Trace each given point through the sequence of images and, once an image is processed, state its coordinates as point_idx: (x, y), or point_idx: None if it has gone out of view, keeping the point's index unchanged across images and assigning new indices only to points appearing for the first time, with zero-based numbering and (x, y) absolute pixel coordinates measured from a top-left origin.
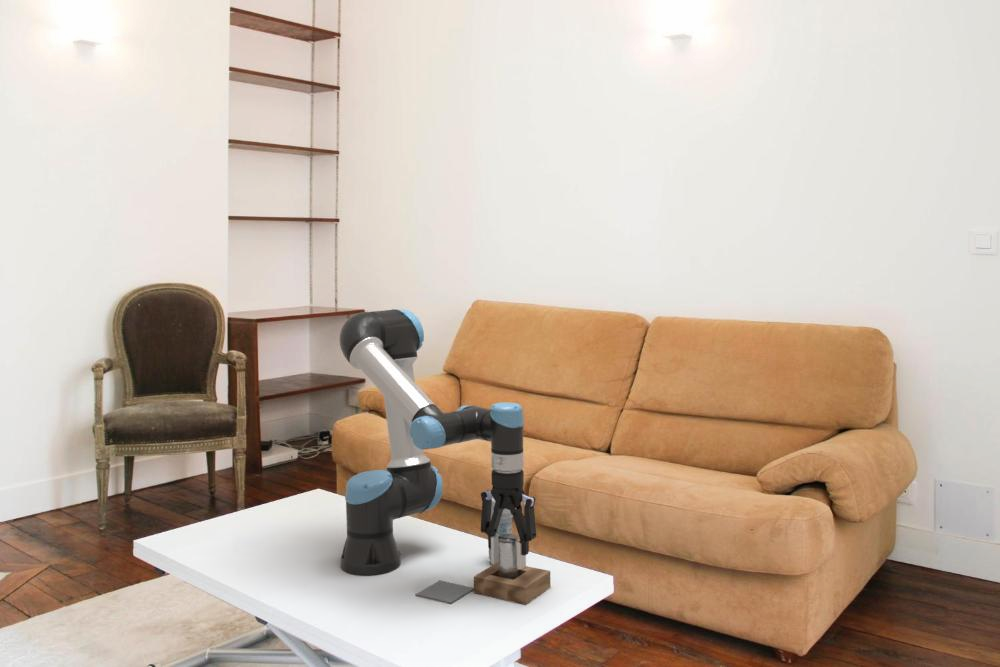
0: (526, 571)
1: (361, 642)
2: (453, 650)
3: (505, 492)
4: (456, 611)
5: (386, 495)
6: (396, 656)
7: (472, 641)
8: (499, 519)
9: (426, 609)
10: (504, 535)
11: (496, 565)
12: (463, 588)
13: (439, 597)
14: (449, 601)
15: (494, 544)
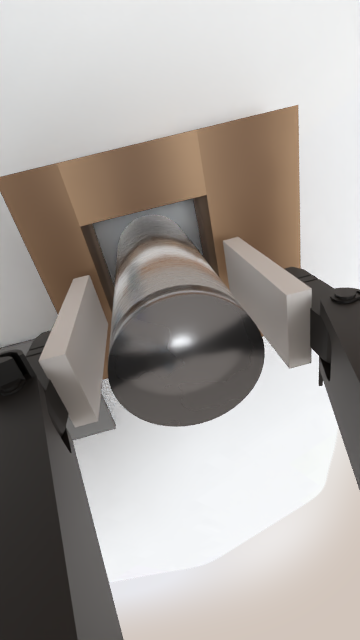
0: (207, 200)
1: (138, 571)
2: (274, 504)
3: None
4: (159, 435)
5: None
6: (216, 554)
7: (281, 474)
8: (67, 506)
9: (99, 470)
10: (140, 367)
11: (44, 241)
12: None
13: None
14: (107, 428)
15: (98, 378)
